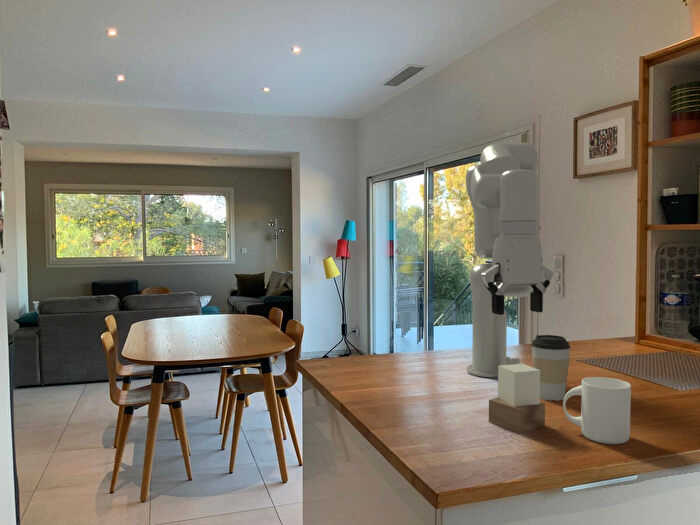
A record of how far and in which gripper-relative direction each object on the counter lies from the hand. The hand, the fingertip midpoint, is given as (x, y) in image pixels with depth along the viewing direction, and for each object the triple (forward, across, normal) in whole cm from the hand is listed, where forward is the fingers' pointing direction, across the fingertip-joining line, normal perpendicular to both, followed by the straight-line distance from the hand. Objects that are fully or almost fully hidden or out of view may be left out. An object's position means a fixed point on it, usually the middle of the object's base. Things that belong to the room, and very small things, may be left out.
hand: (517, 312), depth 110 cm
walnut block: (+24, 0, 0) cm, 24 cm away
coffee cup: (+24, -20, -12) cm, 33 cm away
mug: (+24, -10, +11) cm, 28 cm away
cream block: (+18, 0, 0) cm, 19 cm away
